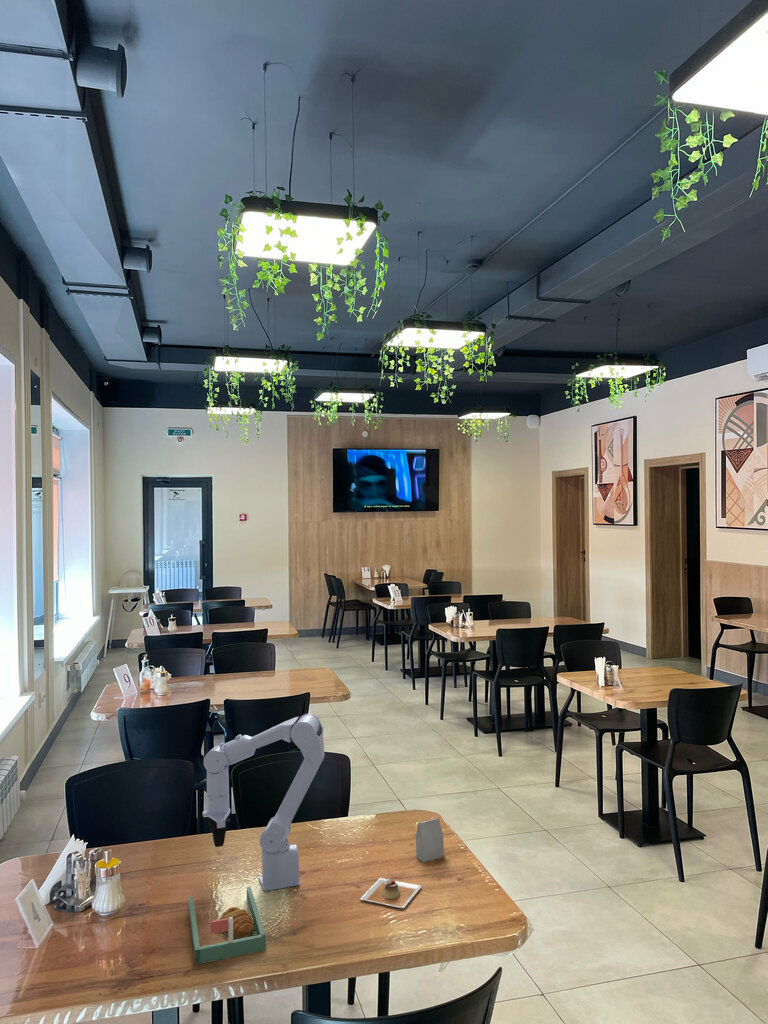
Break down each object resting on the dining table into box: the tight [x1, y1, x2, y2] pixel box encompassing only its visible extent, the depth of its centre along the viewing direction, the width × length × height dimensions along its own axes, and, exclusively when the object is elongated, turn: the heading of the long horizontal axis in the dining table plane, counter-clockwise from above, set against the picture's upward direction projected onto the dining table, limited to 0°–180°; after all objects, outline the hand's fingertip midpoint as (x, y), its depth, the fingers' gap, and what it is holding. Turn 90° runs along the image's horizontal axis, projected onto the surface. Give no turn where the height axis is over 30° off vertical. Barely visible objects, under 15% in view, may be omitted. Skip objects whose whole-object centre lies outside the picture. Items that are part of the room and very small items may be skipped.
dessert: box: [359, 875, 423, 909], centre depth 180 cm, size 12×12×5 cm
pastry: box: [219, 906, 255, 940], centre depth 165 cm, size 9×7×4 cm
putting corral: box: [188, 886, 267, 965], centre depth 166 cm, size 15×24×8 cm, turn 18°
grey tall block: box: [415, 817, 445, 863], centre depth 200 cm, size 4×7×10 cm, turn 119°
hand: (219, 845), depth 189 cm, fingers closed
